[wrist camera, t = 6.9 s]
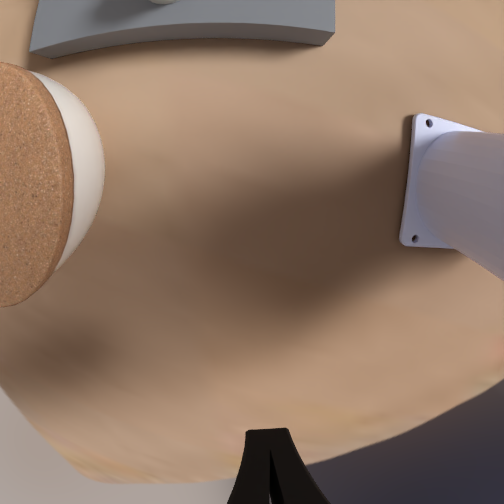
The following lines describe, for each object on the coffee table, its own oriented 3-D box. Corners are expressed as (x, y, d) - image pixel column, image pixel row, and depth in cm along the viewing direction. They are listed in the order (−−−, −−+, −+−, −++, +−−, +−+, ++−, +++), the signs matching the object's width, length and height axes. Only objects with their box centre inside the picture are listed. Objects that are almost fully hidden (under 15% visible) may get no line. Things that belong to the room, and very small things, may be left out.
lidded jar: (-21, 177, 16) (-118, 211, 7) (59, 48, 14) (-46, 14, 5) (69, 282, 19) (-12, 367, 10) (172, 159, 16) (97, 183, 8)
